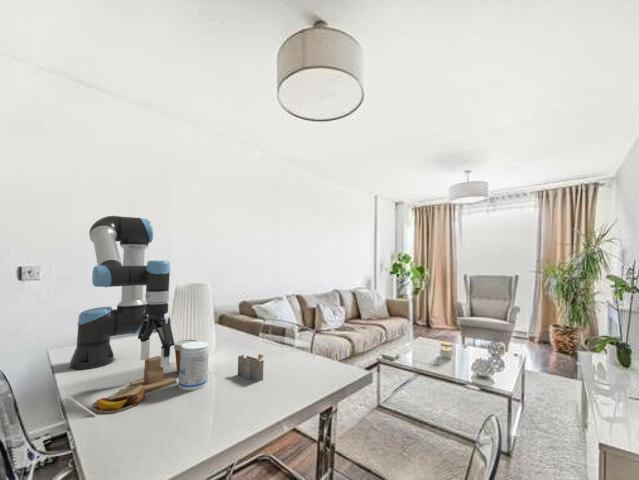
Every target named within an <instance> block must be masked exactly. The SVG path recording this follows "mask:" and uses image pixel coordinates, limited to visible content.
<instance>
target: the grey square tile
mask: <svg viewBox="0 0 639 480" xmlns="http://www.w3.org/2000/svg"><path fill="white" fill-rule="evenodd" d="M175 385H179V382H177V381H176V383H175V384H172V385H170V386H167V387H164V388H161V389H158V390H155V391H152V392H149V393H146V394H145V396H146V395H149V394H150V393H151V394H152V393H154V392H156V391H159V390H160V391H161V390H163V389H165V388H169V387H171V386H175ZM128 387H131V386H129V385H127V388H128Z"/></svg>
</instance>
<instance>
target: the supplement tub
mask: <svg viewBox="0 0 639 480" xmlns="http://www.w3.org/2000/svg"><path fill="white" fill-rule="evenodd" d="M209 346H210V345H209V343H208V342H205V341H198V342H189V343H185V344H183V345H182V346H181V351H180V368H179V374H178V388H179V389H180V390H181V391H197V390H200V389H203V388H205V387H206V386H207V384H208V373H209V372H208V369H209V352H210V351H209V350H210V348H209Z"/></svg>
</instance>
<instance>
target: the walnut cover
mask: <svg viewBox="0 0 639 480" xmlns="http://www.w3.org/2000/svg"><path fill="white" fill-rule="evenodd" d="M160 365H161V355H157V356H153V357H149V358H147V359H145V360H144V368H143V369H144V371H143V378H140V379H136V380H132V381H129V385H128V386H131V387H132V386H137V385H140V384H142V385H143V388H144V391H145V394H146V393H148V394H150V393H149V392H151V393H153V392H152V391H154V392H156V391H155V390H157V391H159V390H158V389H160V390H162V389H161V388H163V389H165V388H164V387H166V388H168V387H167V386H169V387H171V386H170V385H172V384H175V383H176V382H177V379H176V378H173V377H171V376H169V375H166V374H164V367H160ZM175 385H176V384H175ZM172 386H173V385H172ZM146 395H147V394H146Z"/></svg>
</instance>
